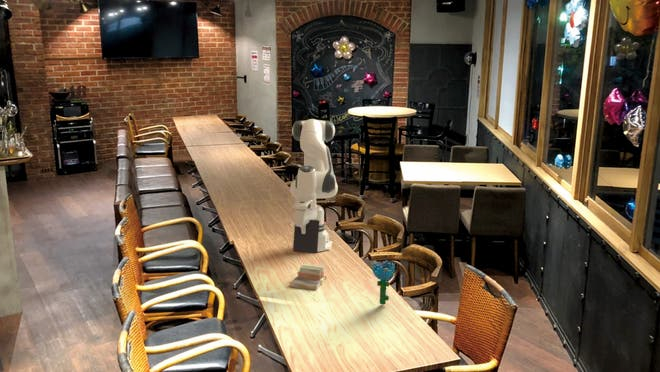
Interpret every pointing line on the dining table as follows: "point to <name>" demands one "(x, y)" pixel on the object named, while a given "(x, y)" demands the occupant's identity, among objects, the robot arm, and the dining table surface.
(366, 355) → the dining table surface
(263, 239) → the dining table surface
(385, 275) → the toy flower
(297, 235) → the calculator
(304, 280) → the sticky note pad set
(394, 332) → the dining table surface
